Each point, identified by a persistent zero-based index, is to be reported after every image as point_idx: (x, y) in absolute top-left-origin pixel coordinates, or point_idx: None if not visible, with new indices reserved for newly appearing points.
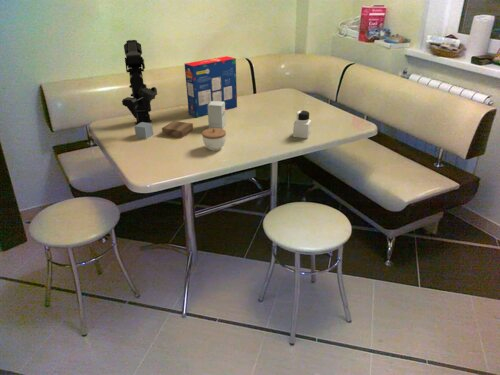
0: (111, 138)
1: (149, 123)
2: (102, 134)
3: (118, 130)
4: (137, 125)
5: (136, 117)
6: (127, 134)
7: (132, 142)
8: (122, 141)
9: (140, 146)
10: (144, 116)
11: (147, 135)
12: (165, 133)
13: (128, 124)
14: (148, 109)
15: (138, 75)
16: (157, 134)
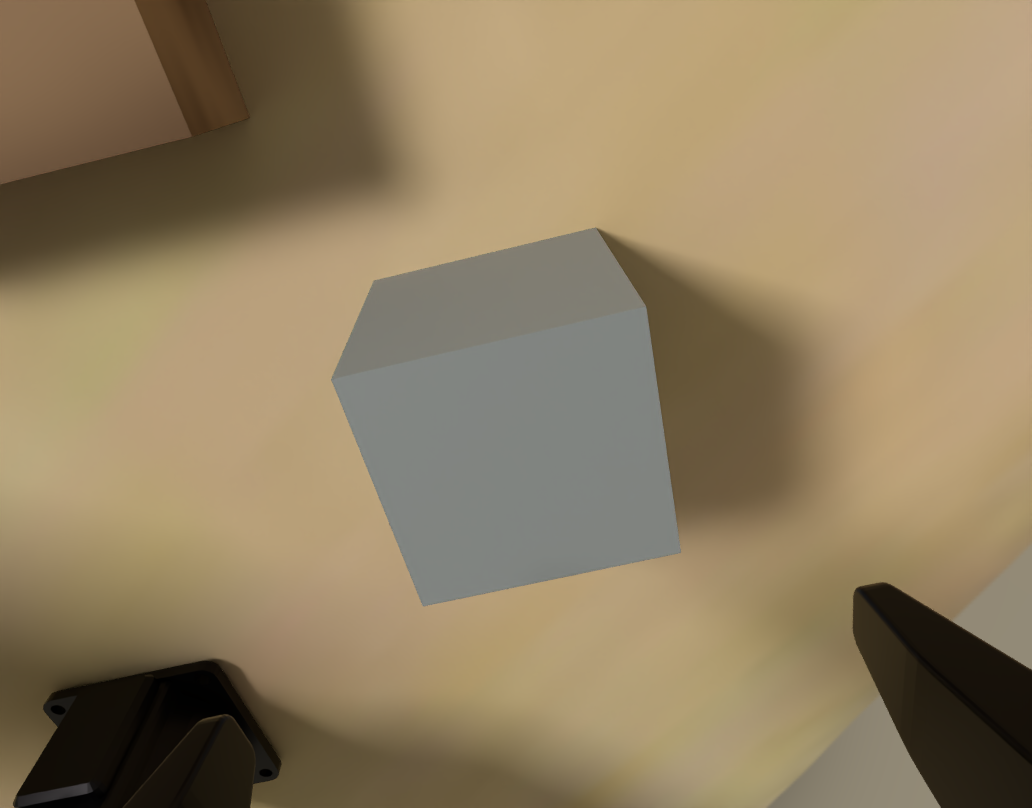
0: (810, 630)
1: (371, 425)
2: (749, 768)
3: (562, 742)
4: (621, 531)
5: (910, 596)
6: (603, 589)
7: (823, 311)
8: (845, 459)
9: (937, 31)
10: (131, 791)
11: (554, 255)
12: (204, 38)
13: (353, 792)
14: (158, 796)
15: None
16: (311, 230)
